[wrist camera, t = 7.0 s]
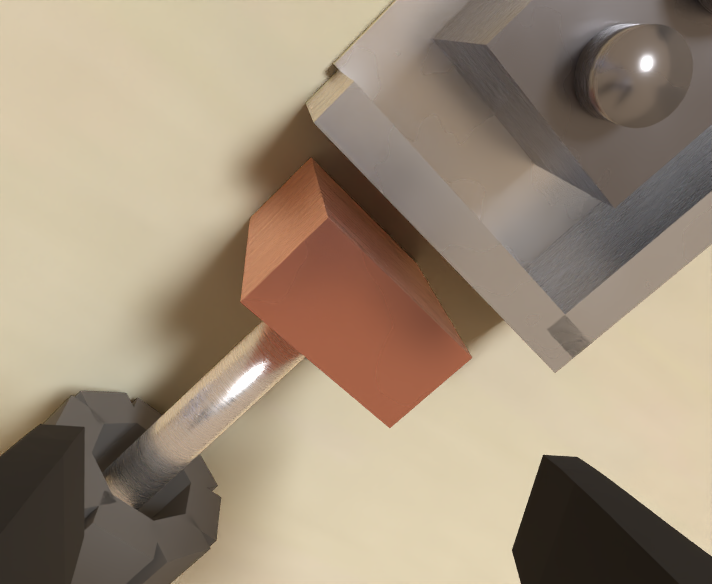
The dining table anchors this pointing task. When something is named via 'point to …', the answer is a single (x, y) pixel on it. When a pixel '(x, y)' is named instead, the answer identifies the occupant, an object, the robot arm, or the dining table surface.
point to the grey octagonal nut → (121, 521)
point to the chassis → (441, 229)
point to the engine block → (590, 82)
